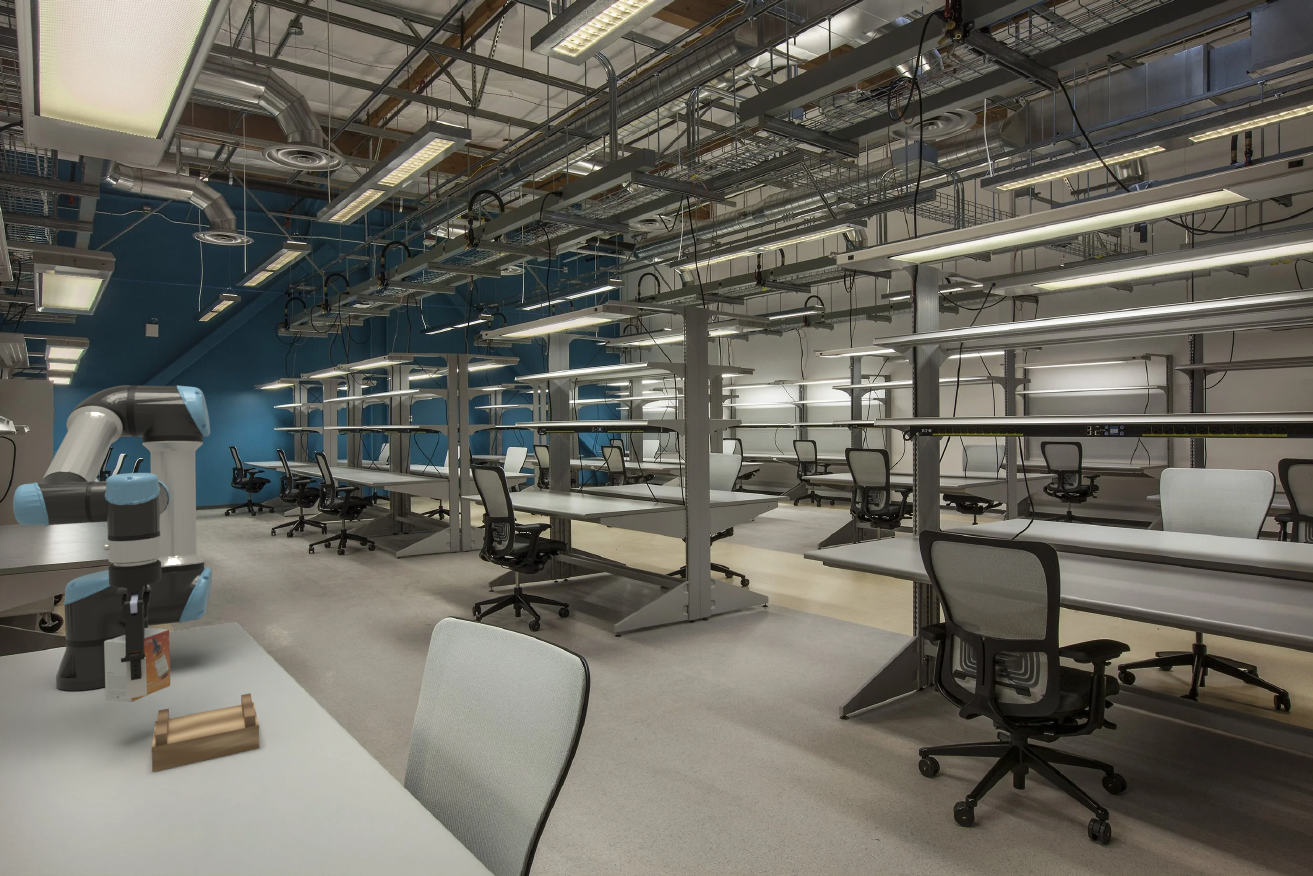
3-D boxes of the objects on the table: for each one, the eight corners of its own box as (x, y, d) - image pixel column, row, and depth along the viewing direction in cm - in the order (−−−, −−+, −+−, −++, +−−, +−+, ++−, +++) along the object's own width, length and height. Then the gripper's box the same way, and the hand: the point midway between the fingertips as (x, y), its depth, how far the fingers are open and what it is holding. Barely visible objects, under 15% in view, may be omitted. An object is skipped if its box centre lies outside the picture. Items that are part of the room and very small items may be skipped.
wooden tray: (155, 744, 125) (154, 711, 125) (254, 723, 133) (253, 692, 133) (152, 772, 115) (151, 736, 115) (259, 748, 123) (258, 714, 123)
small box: (131, 703, 123) (129, 643, 122) (104, 700, 124) (102, 640, 123) (171, 685, 131) (170, 628, 130) (146, 683, 132) (144, 626, 131)
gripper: (114, 552, 133) (118, 670, 134) (101, 577, 115) (106, 714, 116) (163, 548, 137) (166, 663, 138) (158, 571, 119) (162, 703, 120)
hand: (138, 686), depth 127 cm, fingers closed on small box, 9 cm apart
